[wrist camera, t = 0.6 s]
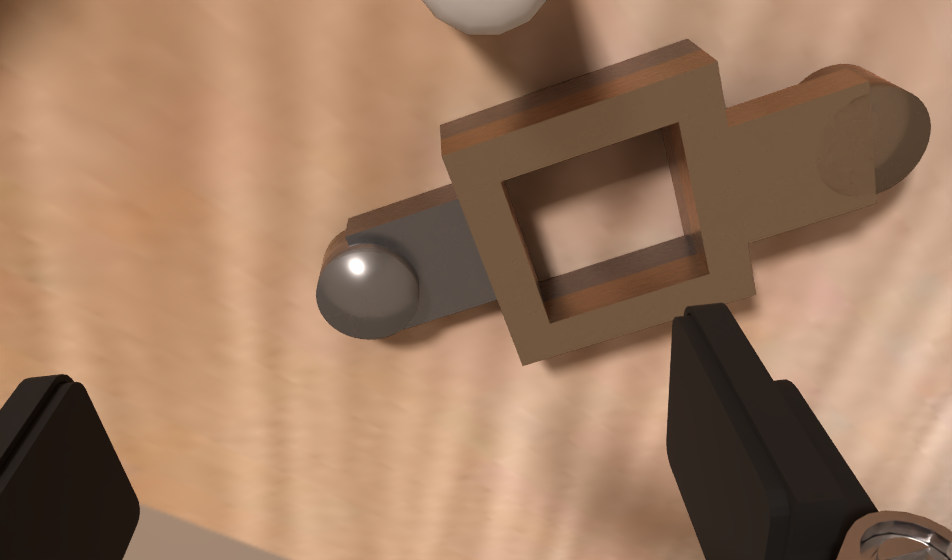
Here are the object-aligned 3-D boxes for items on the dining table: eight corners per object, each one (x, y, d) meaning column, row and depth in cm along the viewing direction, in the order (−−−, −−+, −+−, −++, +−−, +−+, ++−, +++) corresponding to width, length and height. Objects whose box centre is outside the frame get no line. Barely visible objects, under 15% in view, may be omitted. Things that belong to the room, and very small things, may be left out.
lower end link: (687, 38, 34) (709, 55, 31) (727, 255, 40) (748, 283, 37) (275, 182, 36) (264, 209, 34) (372, 366, 42) (368, 401, 40)
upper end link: (875, -27, 33) (928, -12, 29) (887, 205, 39) (932, 240, 35) (440, 125, 35) (441, 156, 32) (514, 322, 41) (522, 366, 38)
